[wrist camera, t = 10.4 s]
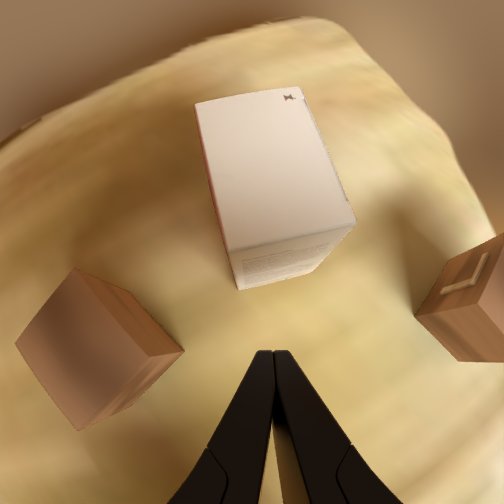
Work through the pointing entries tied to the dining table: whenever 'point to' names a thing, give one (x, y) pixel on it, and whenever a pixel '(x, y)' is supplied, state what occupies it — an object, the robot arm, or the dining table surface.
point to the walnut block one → (95, 349)
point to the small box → (271, 184)
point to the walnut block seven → (469, 304)
